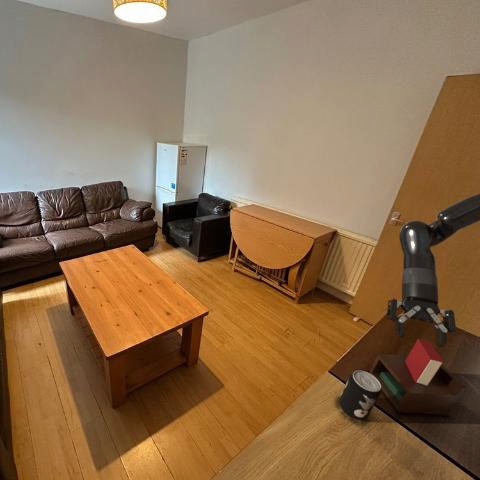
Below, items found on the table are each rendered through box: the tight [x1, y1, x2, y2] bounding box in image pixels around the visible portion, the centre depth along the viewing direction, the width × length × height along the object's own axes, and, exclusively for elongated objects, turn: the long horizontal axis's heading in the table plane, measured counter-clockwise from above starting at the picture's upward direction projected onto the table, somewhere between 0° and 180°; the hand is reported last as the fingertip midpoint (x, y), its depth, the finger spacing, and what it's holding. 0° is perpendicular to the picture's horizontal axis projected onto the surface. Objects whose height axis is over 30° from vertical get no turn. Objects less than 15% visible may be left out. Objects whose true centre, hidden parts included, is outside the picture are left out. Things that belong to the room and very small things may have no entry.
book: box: [405, 338, 444, 386], centre depth 68 cm, size 3×7×9 cm, turn 156°
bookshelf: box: [368, 353, 467, 416], centre depth 71 cm, size 12×12×11 cm
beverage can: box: [338, 369, 382, 421], centre depth 67 cm, size 7×7×12 cm
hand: (419, 341), depth 71 cm, fingers open, 8 cm apart
